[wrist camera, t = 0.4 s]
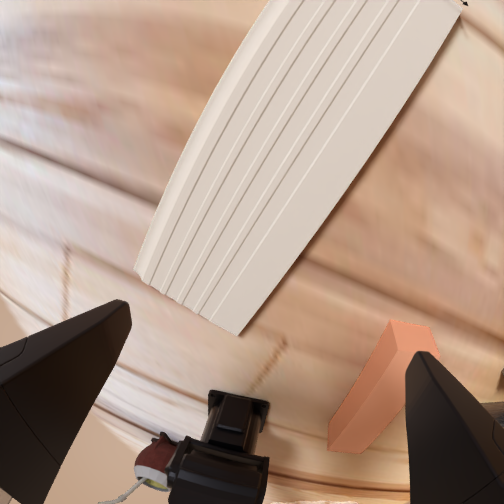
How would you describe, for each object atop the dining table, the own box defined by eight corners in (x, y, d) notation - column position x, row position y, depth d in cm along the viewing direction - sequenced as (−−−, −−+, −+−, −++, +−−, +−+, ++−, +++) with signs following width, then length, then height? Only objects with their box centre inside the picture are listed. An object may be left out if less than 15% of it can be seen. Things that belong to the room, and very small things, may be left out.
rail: (360, 425, 31) (360, 453, 28) (328, 421, 31) (327, 450, 28) (428, 325, 24) (440, 356, 20) (389, 317, 24) (398, 350, 20)
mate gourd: (198, 456, 41) (169, 536, 27) (154, 448, 42) (122, 520, 29) (182, 432, 38) (146, 522, 24) (135, 423, 39) (95, 502, 26)
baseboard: (124, 256, 26) (240, 325, 27) (107, 272, 24) (233, 347, 25) (304, -74, 12) (455, 12, 13) (303, -94, 9) (472, 3, 10)
